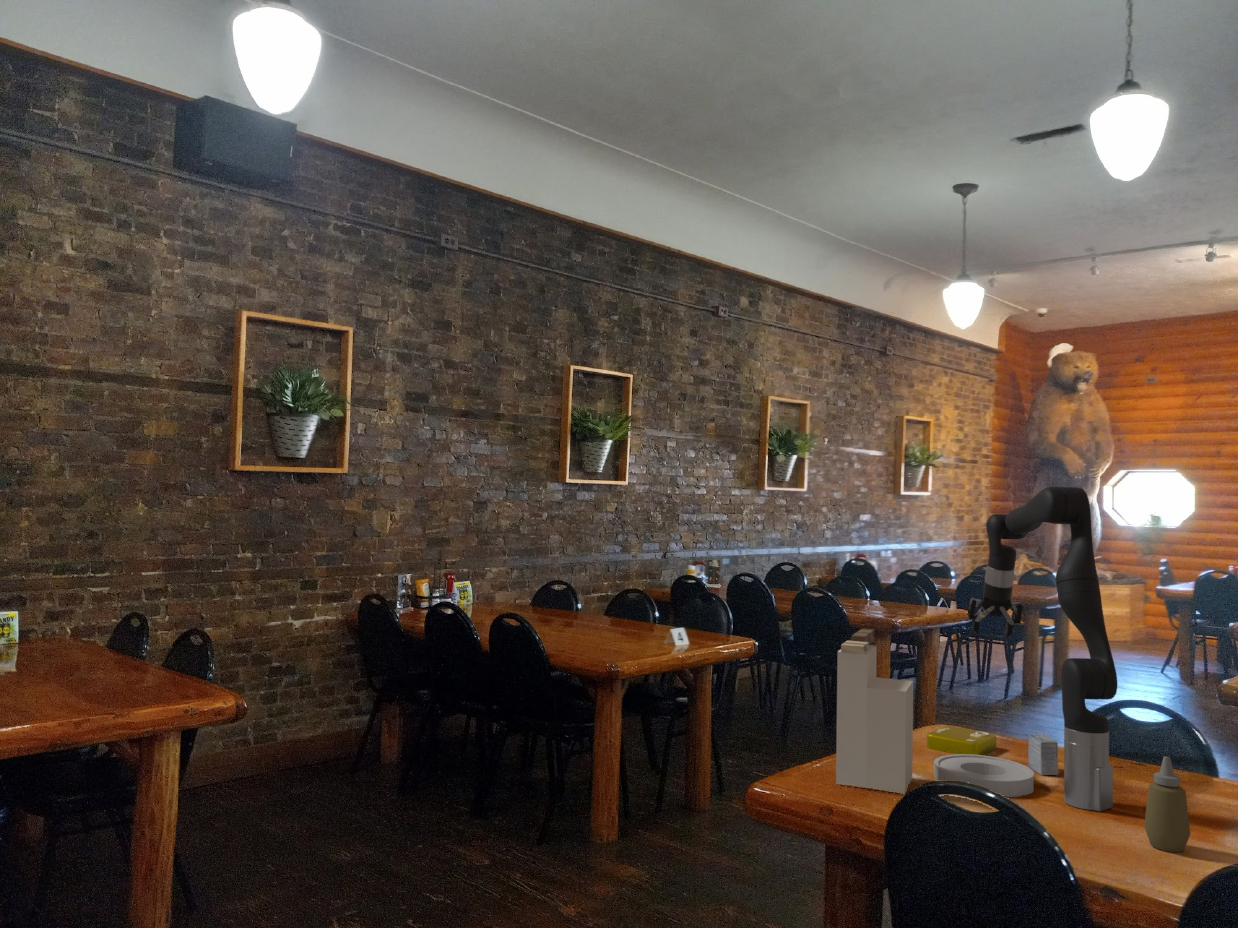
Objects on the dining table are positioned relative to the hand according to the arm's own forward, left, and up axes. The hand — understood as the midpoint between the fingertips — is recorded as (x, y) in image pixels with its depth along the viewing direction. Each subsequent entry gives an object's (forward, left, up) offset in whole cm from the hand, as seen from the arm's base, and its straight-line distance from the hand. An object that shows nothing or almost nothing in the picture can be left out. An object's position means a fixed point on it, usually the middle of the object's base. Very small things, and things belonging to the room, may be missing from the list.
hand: (991, 634), depth 266 cm
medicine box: (-23, +14, -32) cm, 42 cm away
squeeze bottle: (-66, +44, -32) cm, 86 cm away
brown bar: (0, +58, +1) cm, 58 cm away
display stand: (-5, +59, -31) cm, 67 cm away
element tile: (+2, +12, -32) cm, 34 cm away
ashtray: (-20, +36, -32) cm, 52 cm away
